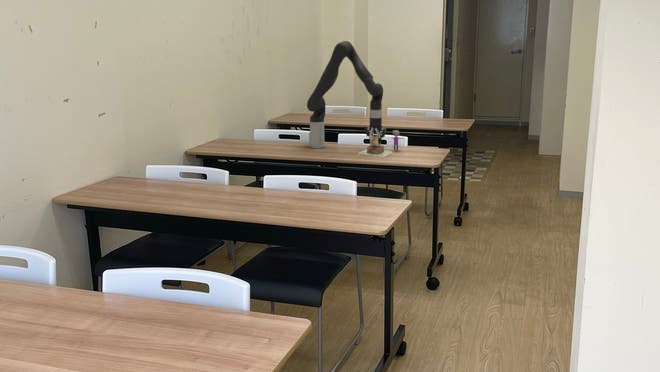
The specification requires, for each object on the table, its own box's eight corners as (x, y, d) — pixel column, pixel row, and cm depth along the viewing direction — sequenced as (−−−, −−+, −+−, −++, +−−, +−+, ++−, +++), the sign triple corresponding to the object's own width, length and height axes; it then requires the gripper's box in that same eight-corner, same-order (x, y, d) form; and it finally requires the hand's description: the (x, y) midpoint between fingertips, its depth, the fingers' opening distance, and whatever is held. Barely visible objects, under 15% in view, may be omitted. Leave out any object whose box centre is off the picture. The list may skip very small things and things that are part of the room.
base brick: (366, 153, 386) (366, 147, 385) (372, 150, 393) (372, 144, 392) (378, 154, 382) (378, 148, 381) (383, 151, 389) (384, 145, 388)
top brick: (369, 145, 385) (370, 135, 383) (373, 143, 389) (373, 133, 387) (377, 146, 383) (377, 135, 381) (380, 144, 387) (380, 134, 385)
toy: (404, 152, 393) (404, 128, 389) (404, 154, 388) (404, 130, 383) (387, 151, 394) (387, 128, 390) (387, 154, 389) (387, 130, 384)
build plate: (357, 155, 386) (357, 152, 386) (367, 150, 398) (367, 147, 397) (384, 158, 378) (384, 155, 377) (393, 153, 390) (393, 150, 389)
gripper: (362, 116, 381) (362, 143, 386) (383, 118, 374) (383, 145, 379) (367, 114, 387) (367, 141, 392) (388, 116, 381) (388, 143, 386)
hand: (375, 143), depth 386 cm, fingers closed on top brick, 5 cm apart
